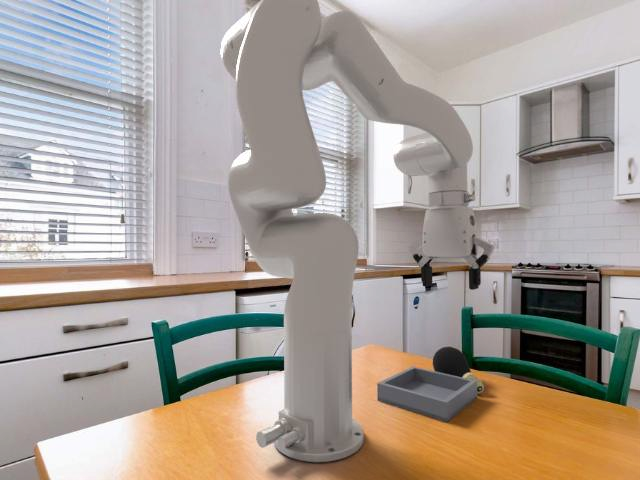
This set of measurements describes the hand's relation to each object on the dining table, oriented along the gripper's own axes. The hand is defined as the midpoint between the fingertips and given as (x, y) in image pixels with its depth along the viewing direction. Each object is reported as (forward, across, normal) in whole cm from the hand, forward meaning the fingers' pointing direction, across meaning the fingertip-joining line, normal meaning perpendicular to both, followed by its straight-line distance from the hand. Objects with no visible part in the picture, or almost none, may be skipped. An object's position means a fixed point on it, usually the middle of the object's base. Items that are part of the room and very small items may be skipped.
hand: (449, 287), depth 77 cm
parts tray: (+18, -1, +12) cm, 22 cm away
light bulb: (+19, -2, +2) cm, 19 cm away
